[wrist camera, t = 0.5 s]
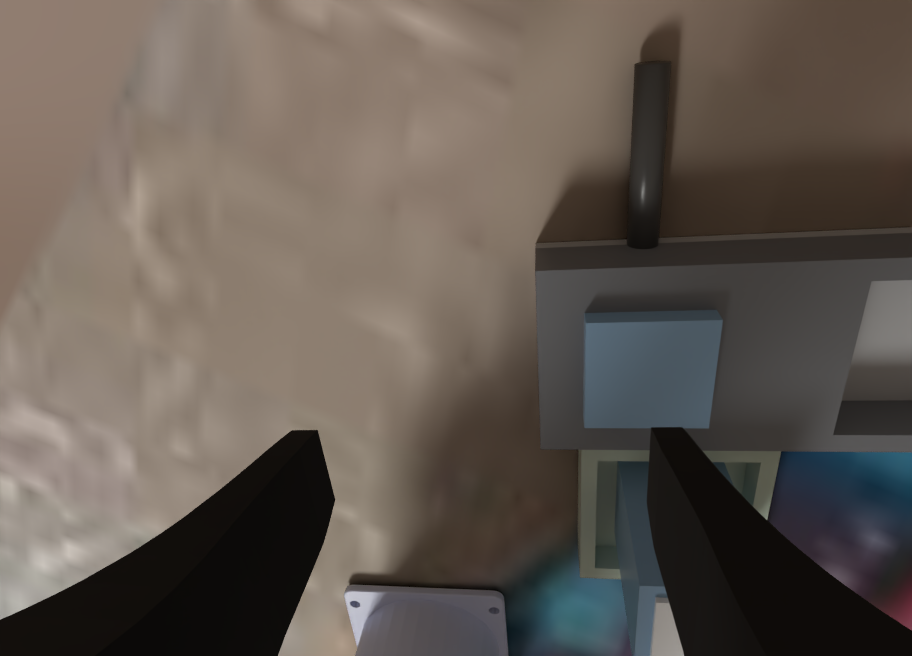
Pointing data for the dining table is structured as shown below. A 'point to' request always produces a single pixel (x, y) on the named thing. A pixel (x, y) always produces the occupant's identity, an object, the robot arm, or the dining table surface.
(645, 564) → the plug
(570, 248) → the grey busybox board
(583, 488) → the tray
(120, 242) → the dining table surface
